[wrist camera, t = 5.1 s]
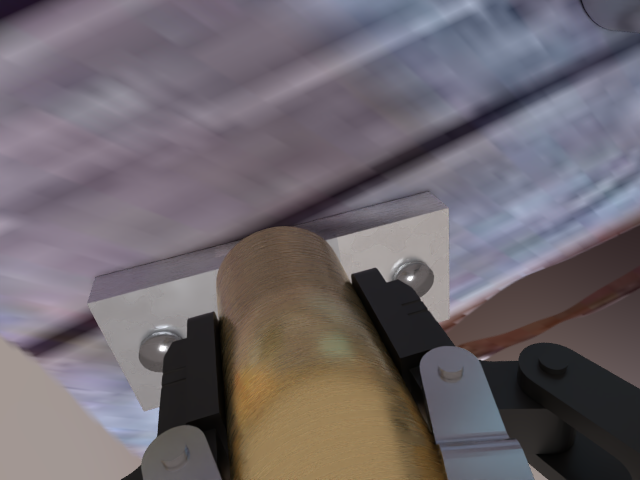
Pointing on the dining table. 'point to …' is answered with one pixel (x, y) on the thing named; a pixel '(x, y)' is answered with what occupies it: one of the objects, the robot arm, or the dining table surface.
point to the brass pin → (310, 371)
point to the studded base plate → (202, 266)
